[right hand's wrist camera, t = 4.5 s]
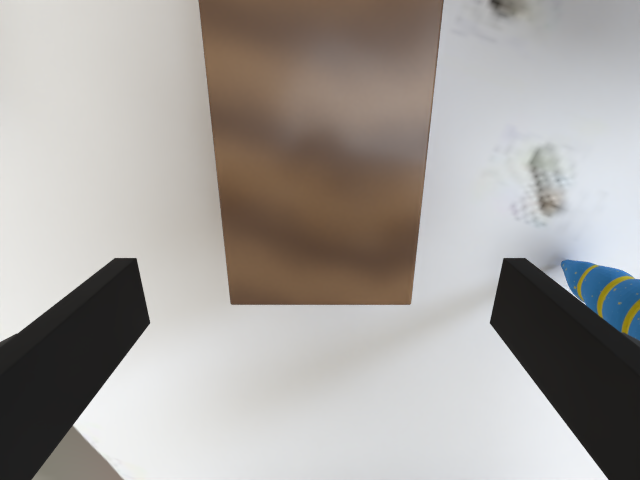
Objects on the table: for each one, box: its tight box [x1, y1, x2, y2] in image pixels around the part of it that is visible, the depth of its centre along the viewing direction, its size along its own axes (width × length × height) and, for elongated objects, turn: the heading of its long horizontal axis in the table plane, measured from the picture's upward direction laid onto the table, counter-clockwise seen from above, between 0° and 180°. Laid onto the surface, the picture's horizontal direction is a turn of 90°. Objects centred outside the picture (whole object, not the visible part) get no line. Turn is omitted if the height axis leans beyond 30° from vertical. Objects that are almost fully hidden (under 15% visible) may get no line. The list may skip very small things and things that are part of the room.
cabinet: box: [199, 0, 444, 305], centre depth 22 cm, size 20×11×10 cm, turn 0°
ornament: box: [561, 260, 640, 340], centre depth 23 cm, size 5×5×15 cm
